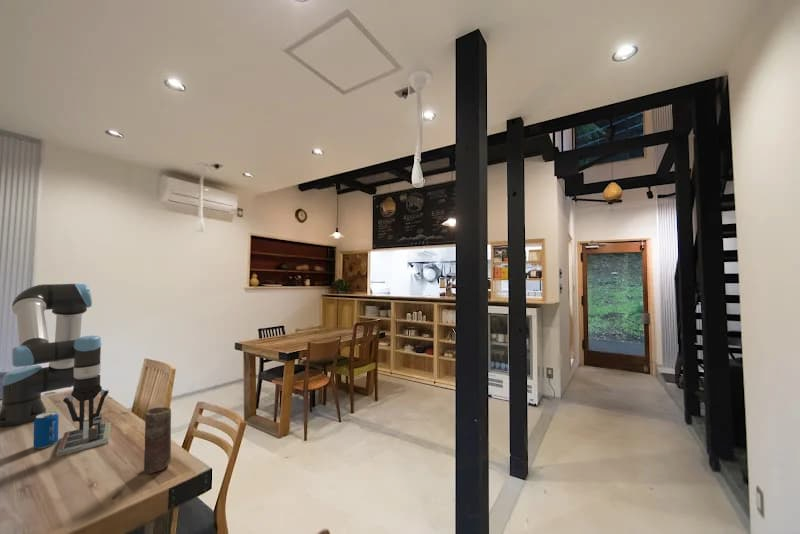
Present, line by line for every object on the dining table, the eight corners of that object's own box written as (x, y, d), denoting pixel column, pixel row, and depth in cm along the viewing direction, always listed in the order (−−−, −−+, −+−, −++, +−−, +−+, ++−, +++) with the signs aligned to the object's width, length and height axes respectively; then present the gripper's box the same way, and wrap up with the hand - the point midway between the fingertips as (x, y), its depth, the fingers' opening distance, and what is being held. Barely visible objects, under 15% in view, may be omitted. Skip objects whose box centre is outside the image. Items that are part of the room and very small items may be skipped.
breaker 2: (92, 430, 130) (93, 420, 130) (100, 428, 132) (101, 419, 132) (92, 434, 128) (92, 424, 128) (100, 432, 129) (100, 422, 129)
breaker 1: (94, 425, 135) (94, 415, 135) (101, 423, 136) (102, 414, 136) (93, 428, 132) (93, 418, 132) (101, 426, 134) (101, 417, 134)
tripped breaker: (89, 436, 125) (89, 426, 125) (97, 434, 127) (97, 424, 127) (88, 440, 123) (88, 429, 123) (96, 438, 124) (97, 427, 124)
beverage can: (41, 450, 120) (42, 418, 121) (28, 448, 122) (29, 417, 122) (62, 441, 127) (63, 411, 127) (50, 440, 128) (50, 410, 128)
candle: (154, 461, 113) (154, 405, 113) (175, 460, 113) (176, 404, 114) (138, 475, 105) (139, 415, 106) (161, 474, 106) (162, 414, 106)
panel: (64, 437, 130) (64, 432, 130) (110, 426, 139) (110, 421, 139) (56, 456, 116) (56, 450, 116) (108, 443, 125) (108, 437, 125)
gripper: (61, 382, 117) (60, 446, 116) (109, 375, 125) (108, 434, 125) (64, 377, 123) (63, 438, 122) (110, 370, 131) (109, 427, 131)
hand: (86, 436), depth 123 cm, fingers closed
